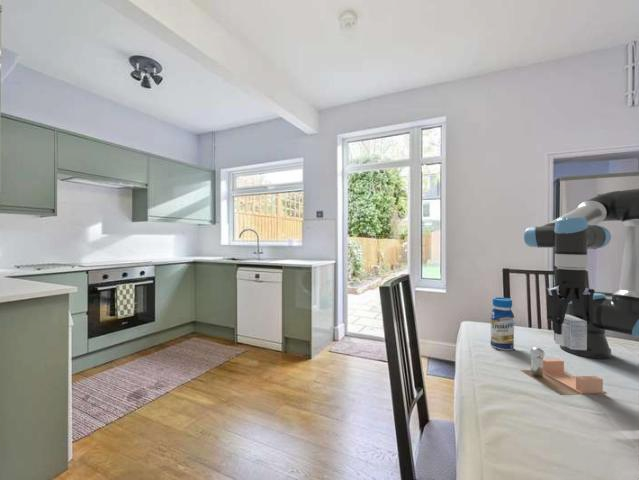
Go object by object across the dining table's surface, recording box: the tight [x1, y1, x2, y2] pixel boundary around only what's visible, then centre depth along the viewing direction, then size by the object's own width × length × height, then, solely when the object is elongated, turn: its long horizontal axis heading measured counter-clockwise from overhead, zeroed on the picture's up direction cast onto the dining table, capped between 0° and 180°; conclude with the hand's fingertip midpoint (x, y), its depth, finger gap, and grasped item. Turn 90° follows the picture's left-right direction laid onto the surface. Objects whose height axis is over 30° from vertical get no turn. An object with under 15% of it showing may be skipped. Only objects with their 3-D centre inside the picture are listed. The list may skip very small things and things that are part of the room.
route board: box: [520, 369, 607, 396], centre depth 89 cm, size 14×15×1 cm
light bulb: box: [529, 346, 545, 378], centre depth 92 cm, size 4×4×9 cm
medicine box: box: [553, 314, 587, 350], centre depth 88 cm, size 8×4×9 cm, turn 170°
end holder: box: [543, 358, 605, 395], centre depth 88 cm, size 7×14×4 cm, turn 4°
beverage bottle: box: [489, 296, 515, 351], centre depth 119 cm, size 8×8×20 cm
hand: (569, 344), depth 88 cm, fingers closed on medicine box, 5 cm apart
